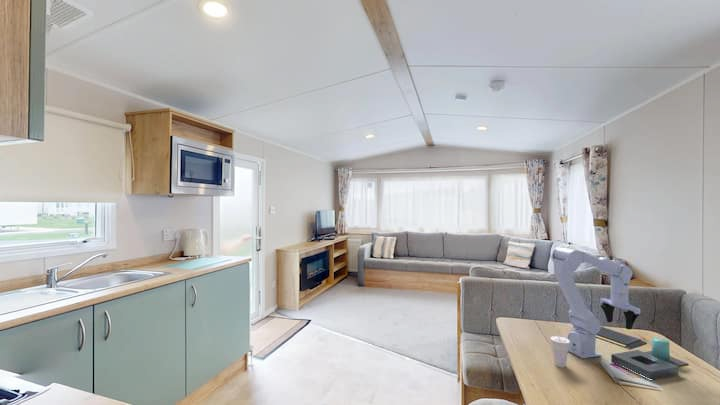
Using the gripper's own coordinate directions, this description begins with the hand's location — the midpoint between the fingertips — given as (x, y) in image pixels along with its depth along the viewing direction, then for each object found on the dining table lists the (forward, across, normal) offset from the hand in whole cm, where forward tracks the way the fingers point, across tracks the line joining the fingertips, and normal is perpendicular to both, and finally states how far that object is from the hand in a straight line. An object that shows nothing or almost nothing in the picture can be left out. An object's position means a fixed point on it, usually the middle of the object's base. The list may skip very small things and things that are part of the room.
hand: (619, 325), depth 132 cm
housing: (+10, -13, +6) cm, 18 cm away
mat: (+10, -10, -8) cm, 16 cm away
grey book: (+11, +10, -10) cm, 18 cm away
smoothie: (+11, -3, +34) cm, 36 cm away
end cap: (+10, -10, -8) cm, 16 cm away
